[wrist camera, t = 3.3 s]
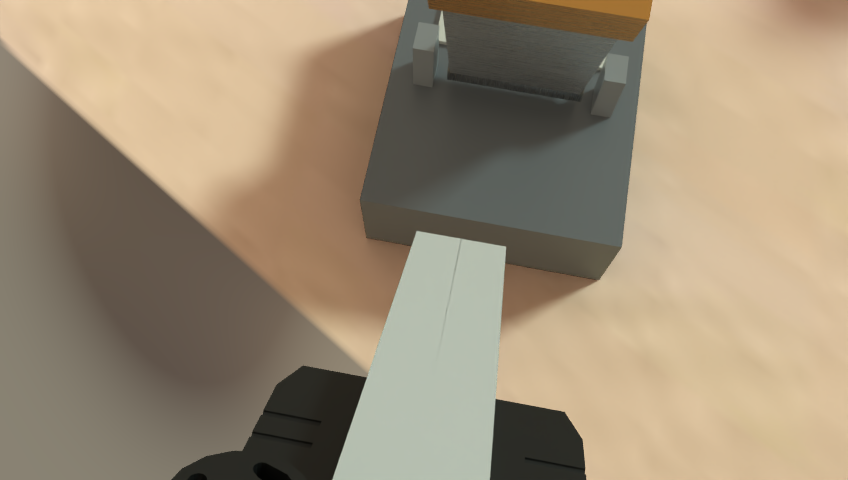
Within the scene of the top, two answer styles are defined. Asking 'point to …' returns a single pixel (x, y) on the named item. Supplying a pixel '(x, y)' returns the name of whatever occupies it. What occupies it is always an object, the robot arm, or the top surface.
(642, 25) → the lever
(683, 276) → the top surface
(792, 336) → the top surface
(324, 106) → the top surface
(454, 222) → the switch box
